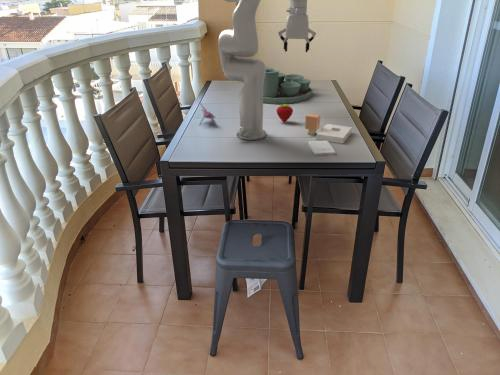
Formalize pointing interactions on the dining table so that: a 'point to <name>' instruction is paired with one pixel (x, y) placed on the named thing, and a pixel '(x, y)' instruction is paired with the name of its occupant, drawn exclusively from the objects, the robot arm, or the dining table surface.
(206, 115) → the lily
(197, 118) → the dining table surface
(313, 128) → the plug
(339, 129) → the socket
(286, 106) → the strawberry
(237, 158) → the dining table surface
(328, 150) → the external hard drive
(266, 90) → the tea set
